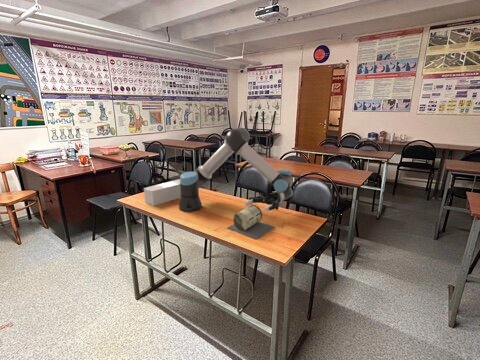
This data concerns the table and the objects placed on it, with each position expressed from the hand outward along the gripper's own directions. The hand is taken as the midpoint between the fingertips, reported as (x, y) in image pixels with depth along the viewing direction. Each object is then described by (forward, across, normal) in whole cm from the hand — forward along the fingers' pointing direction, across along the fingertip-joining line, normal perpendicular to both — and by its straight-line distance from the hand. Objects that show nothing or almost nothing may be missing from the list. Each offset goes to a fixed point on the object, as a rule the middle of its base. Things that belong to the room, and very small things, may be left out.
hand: (254, 207), depth 147 cm
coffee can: (+10, +2, -6) cm, 12 cm away
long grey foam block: (+3, +77, -12) cm, 78 cm away
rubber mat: (+2, 0, -12) cm, 12 cm away
